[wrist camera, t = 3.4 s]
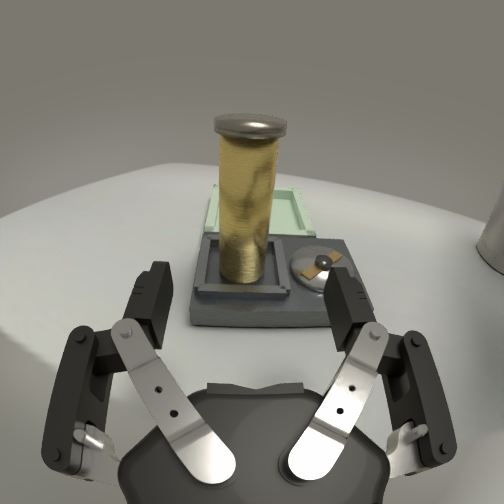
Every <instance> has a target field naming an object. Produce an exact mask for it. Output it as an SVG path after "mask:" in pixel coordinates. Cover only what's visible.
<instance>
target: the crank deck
mask: <svg viewBox="0 0 504 504" xmlns="http://www.w3.org/2000/svg"><path fill="white" fill-rule="evenodd" d="M331 267H346V268H347V269H348V272H349V274H350V277H355V278H356V279H357V280H358V281H359V282H360V283H361V284H362V287H363V289H364V291H365V294H366V296H367V300H368V301H369V304H370V306H371V309H372V311H373V310H374V308H373V305H372V303H371V301H370V298H369V296H368V293H367V291H366V289H365V286H364V284H363V282H362V279H361V277H360V275H359V273H358V270H357V268H356V266H355V264H354V261H353V259H352V257H351V255H350V253H349V251H348V249H347V246H346V244H345V242H344V240H340V239H320V238H298V237H273V236H269V237H268V246H267V254H266V262H265V270H264V274H263V275H262V276H261V277H260V278H259V279H258V280H256V281H253V282H250V283H236V282H232V281H230V280H228V279H226V278H225V277H224V276H223V275H222V274H221V272H220V269H219V235H217V234H203V238H202V243H201V248H200V253H199V258H198V263H197V269H196V274H195V279H194V285H193V291H192V296H191V302H190V308H189V309H190V316H191V322H192V325H209V326H237V327H310V326H331V325H330V321H329V317H328V313H327V310H326V306H325V302H324V298H323V291H324V286H325V283H326V280H327V277H328V274H329V271H330V268H331Z"/></svg>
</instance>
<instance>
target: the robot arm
mask: <svg viewBox="0 0 504 504" xmlns="http://www.w3.org/2000/svg"><path fill="white" fill-rule="evenodd" d="M477 249H478V251H479V253H480V254H481V256H482V257H483V258H484V259H485V260H486V261H487V262H488V263H489V264H490V265H491V266H492V267H493V268H494V269H496V270H497V271H499V272H501V273H503V274H504V182H503V185H502V187H501V190H500V193H499V196H498V198H497V201H496V203H495V206H494V208H493V210H492V213H491V215H490V218H489V220H488V222H487V224H486V226H485V229H484V231H483V233H482V235H481V237H480V239H479V241H478V243H477ZM172 297H173V281H172V276H171V270H170V264H169V262H162V261H154V262H153V263H152V266H151V269H150V271H143V272H142V273H141V274H140V275H139V276H138V278H137V279H136V282H135V285H134V288H133V290H132V294H131V296H130V298H129V301H128V304H127V307H126V310H125V313H124V315H123V318H122V319H121V320H119V321H118V322H116V323H115V324H114V325H113V327H112V329H109V330H104V331H98V332H94V331H93V330H92V329H91V328H90V327H88V326H79V327H76V328H75V329H74V330H72V332H71V333H70V335H69V337H68V340H67V343H66V346H65V349H64V352H63V355H62V359H61V362H60V365H59V369H58V372H57V376H56V380H55V383H54V387H53V391H52V395H51V400H50V405H49V409H48V413H47V419H46V423H45V429H44V435H43V441H42V448H41V455H42V458H43V461H44V463H45V464H46V465H47V466H48V467H49V468H50V469H52V470H55V471H57V472H60V473H62V474H64V475H66V476H70V477H73V478H76V479H82V480H86V481H99V482H102V483H106V484H110V485H115V486H120V488H121V490H122V492H123V494H124V496H125V498H126V501H127V504H382V501H383V495H384V491H385V488H386V485H387V482H388V480H389V479H390V478H393V477H397V476H401V475H405V476H411V475H414V474H417V473H420V472H423V471H426V470H429V469H431V468H434V467H437V466H439V465H442V464H444V463H447V462H449V461H450V460H451V459H452V458H453V457H454V455H455V453H456V450H457V443H456V438H455V433H454V429H453V425H452V420H451V416H450V412H449V409H448V405H447V401H446V398H445V394H444V391H443V387H442V384H441V381H440V378H439V375H438V372H437V369H436V366H435V363H434V360H433V357H432V354H431V351H430V349H429V346H428V343H427V341H426V339H425V337H424V336H423V335H422V334H421V333H419V332H417V331H408V332H407V333H406V334H405V335H404V336H399V335H394V334H390V333H388V331H387V329H386V328H385V327H384V326H383V325H381V324H380V323H377V321H376V319H375V316H374V314H373V311H372V309H371V306H370V304H369V301H368V300H367V296H366V294H365V291H364V289H363V287H362V284H361V283H360V282H359V281H358V280H357V279H356V278H355V277H350V274H349V272H348V269H347V268H346V267H331V268H330V271H329V274H328V277H327V280H326V283H325V286H324V291H323V298H324V302H325V306H326V310H327V313H328V317H329V321H330V325H331V329H332V333H333V337H334V341H335V345H336V349H337V352H340V351H345V354H346V356H345V358H344V360H343V361H342V363H341V365H340V367H339V369H338V370H337V372H336V374H335V376H334V377H333V379H332V381H331V383H330V384H329V386H328V388H327V389H326V391H325V392H324V394H323V395H320V394H318V393H316V392H314V391H311V390H308V389H304V388H303V383H284V384H277V385H273V386H269V387H265V388H262V389H257V390H255V389H250V388H246V387H241V386H237V385H233V384H218V383H207V389H203V390H200V391H197V392H194V393H192V394H190V395H189V396H187V397H186V396H185V394H184V393H183V391H182V390H181V388H180V387H179V385H178V384H177V383H176V381H175V380H174V378H173V377H172V375H171V374H170V372H169V370H168V369H167V367H166V366H165V364H164V363H163V361H162V360H161V358H160V357H158V356H157V354H156V352H155V351H154V350H155V349H162V344H163V339H164V334H165V329H166V324H167V319H168V315H169V310H170V306H171V301H172ZM123 371H128V374H129V376H130V378H131V380H132V382H133V384H134V386H135V387H136V389H137V391H138V393H139V395H140V397H141V398H142V400H143V402H144V404H145V405H146V407H147V409H148V410H149V412H150V414H151V415H152V417H153V419H154V420H155V422H156V423H157V426H155V427H154V428H153V429H152V430H151V431H150V432H149V433H148V434H147V435H146V436H145V437H144V438H143V439H142V440H141V441H140V442H139V443H138V444H136V445H135V446H134V447H133V448H132V449H131V450H130V451H129V452H128V453H127V454H126V455H125V456H124V457H123V458H122V460H121V461H119V460H118V459H117V457H116V455H115V452H114V444H113V442H112V440H111V438H110V437H109V436H108V435H106V434H105V433H104V432H105V424H106V417H107V409H108V403H109V397H110V390H111V385H112V379H113V374H114V373H117V372H123ZM377 374H381V375H382V380H383V384H384V389H385V393H386V398H387V403H388V408H389V413H390V418H391V424H392V429H393V432H392V433H391V434H390V435H389V437H388V440H387V447H386V448H387V450H386V452H384V451H383V450H382V449H381V448H380V447H379V446H378V445H376V444H375V443H374V442H373V441H372V440H371V439H370V438H368V437H367V436H366V435H365V434H364V433H363V432H362V431H361V430H359V429H358V428H357V427H356V426H355V425H354V424H355V422H356V420H357V418H358V416H359V414H360V412H361V410H362V408H363V406H364V404H365V402H366V399H367V397H368V395H369V393H370V391H371V389H372V386H373V384H374V382H375V379H376V377H377Z"/></svg>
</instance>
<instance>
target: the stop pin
mask: <svg viewBox="0 0 504 504" xmlns="http://www.w3.org/2000/svg"><path fill="white" fill-rule="evenodd" d="M286 129H287V121H285V120H283V119H280V118H277V117H273V116H267V115H260V114H245V113H239V114H238V113H237V114H225V115H220V116H217V117H215V118H214V131H215V132H216V133H218V134H220V151H219V152H220V154H219V269H220V272H221V274H222V275H223V276H224V277H225V278H226V279H228V280H230V281H232V282H236V283H250V282H253V281H256V280H258V279H259V278H260V277H261V276H262V275H263V274H264V270H265V262H266V254H267V246H268V237H269V229H270V220H271V211H272V203H273V194H274V185H275V176H276V166H277V157H278V147H279V138H280V137H283V136H285V135H286Z"/></svg>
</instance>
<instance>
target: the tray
mask: <svg viewBox="0 0 504 504" xmlns="http://www.w3.org/2000/svg"><path fill="white" fill-rule="evenodd" d="M204 234H217V235H219V185H214V187H213V191H212V196H211V200H210V205H209V209H208V214H207V219H206V223H205V228H204ZM269 236H273V237H298V238H316V233H315V230H314V228H313V225H312V222H311V220H310V217H309V215H308V212H307V209H306V207H305V204H304V202H303V199H302V197H301V194H300V192H299V189H297V188H283V187H274V194H273V203H272V211H271V220H270V229H269Z"/></svg>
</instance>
